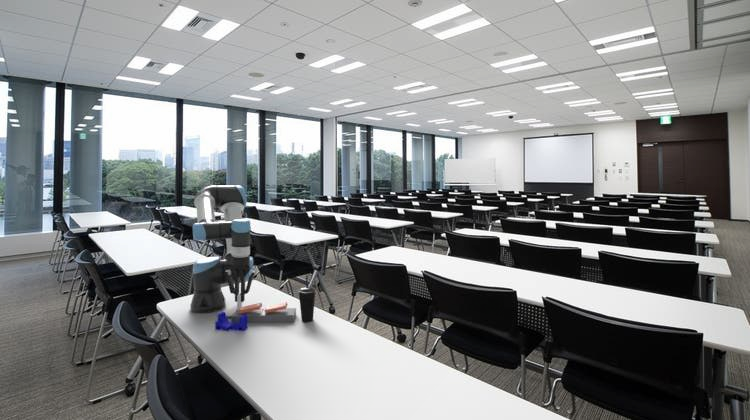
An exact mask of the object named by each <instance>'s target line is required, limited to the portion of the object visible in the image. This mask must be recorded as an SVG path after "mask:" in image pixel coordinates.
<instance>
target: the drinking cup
mask: <svg viewBox="0 0 750 420" xmlns="http://www.w3.org/2000/svg"><path fill="white" fill-rule="evenodd" d="M308 277H309V276H308V275H305V282H306V285H305V286H303V287H300V288H298V290H297V292H298V299H299V307H300V316H301V317H300V318H301V322H302V323H310V322H313V320H314V312H315V311H314V310H315V299H316V298H315V297H316V291H317V289H316V288H315V287H314V286H309V285H308V284H309V281H308V280H309V278H308Z"/></svg>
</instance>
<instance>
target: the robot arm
mask: <svg viewBox="0 0 750 420" xmlns="http://www.w3.org/2000/svg"><path fill="white" fill-rule="evenodd" d="M246 196H247V195H246V192H245V188H244V187H243V186H241V185H236V184H233V185H209V186H206V187H204V188H201V190H199V191H198V192H197V193H196V195H195V196H194V200H193V204H194V207H195V209H196V220H197V222H196V223H193V224H192V236H193V240H194V241H202V242H203V241H204V242H205V241H210V240H211V241H213V240H214V241H215V240H225V242H226V254H225V255H224V257H223V258H224V259H221V257H220V256H209V257H204V258H201V259H198V260H196V261H195V262H194V263H193V264H192V275H193V296H192V299H191V303H190V305H189V307H190V311H191V312H192V313H197V314H207V313H212V312H216V311H219V310H223V308H225V307H226V302H227V301H226V298H225V295H224V293H223V290H222V285H227V284H228V289H229V292H230V293H231V294H233V295H234V302H236V310H241V308H242V307H243V303H244V302H245V295H247V294H249V292H250V290H251V286H252V283H253V278H254V277H255V275H256V273H257V272H256V271H255V270H254V257H253V256H250V255H251V229H252V226H251V221H250V220H249V219H245V218H243V215H242V212H243V210H244V209H245V207H246V206H247V197H246ZM215 208H219V209H220V211H221V212H222V213H223V216H224V218H223V219H224V221H216V214H215ZM246 282H247V284H246Z"/></svg>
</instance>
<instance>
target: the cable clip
mask: <svg viewBox="0 0 750 420" xmlns="http://www.w3.org/2000/svg"><path fill="white" fill-rule="evenodd" d="M226 316H227V313H226V311H221V312H219V313H217V321H216V322H215V323H214V327H215V330H216V331H217V330H218V331H219V330H220V331H225V332H229V331H240V332H245V331H246V330H248V325H249V324H248V323H247V315H246V314H244V315H242V316H240V317H239V322H238V323H237V324H235V323H232V322H231V320H230V319H228V318H227V317H226Z"/></svg>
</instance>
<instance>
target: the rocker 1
mask: <svg viewBox="0 0 750 420" xmlns="http://www.w3.org/2000/svg"><path fill="white" fill-rule="evenodd" d="M262 307H263V303H262V302H257V303H254V304H249V305H244V306H242V308H241V310H239V311H238V312H239V314H241V313H246V312H250V311H254V310H259V309H262Z"/></svg>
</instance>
